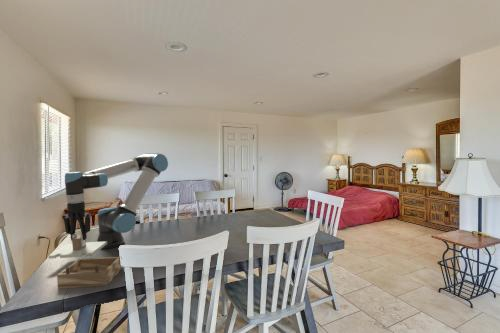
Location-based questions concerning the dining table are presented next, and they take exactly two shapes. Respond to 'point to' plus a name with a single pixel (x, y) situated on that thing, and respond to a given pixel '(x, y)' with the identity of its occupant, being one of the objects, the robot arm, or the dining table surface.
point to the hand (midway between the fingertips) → (79, 245)
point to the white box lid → (78, 249)
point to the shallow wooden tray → (89, 272)
